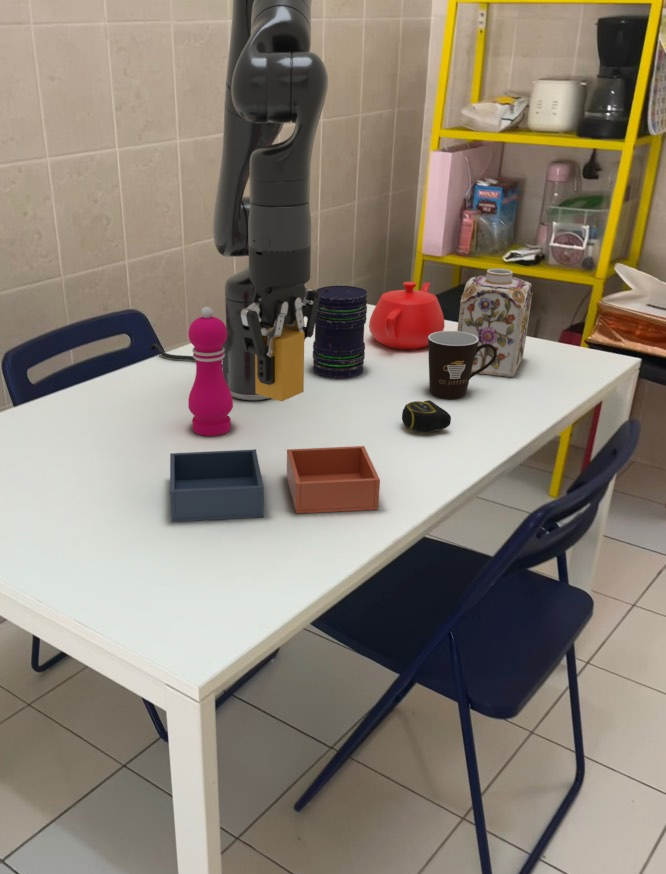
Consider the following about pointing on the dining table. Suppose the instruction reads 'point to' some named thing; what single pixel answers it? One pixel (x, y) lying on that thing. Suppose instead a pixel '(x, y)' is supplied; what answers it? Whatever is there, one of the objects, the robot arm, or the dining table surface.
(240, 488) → the slate bin
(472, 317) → the decorative jar
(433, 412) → the tape measure
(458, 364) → the coffee mug
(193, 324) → the pepper mill
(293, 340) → the mustard box
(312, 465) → the terracotta bin
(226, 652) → the dining table surface
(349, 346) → the storage jar
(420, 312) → the teapot
